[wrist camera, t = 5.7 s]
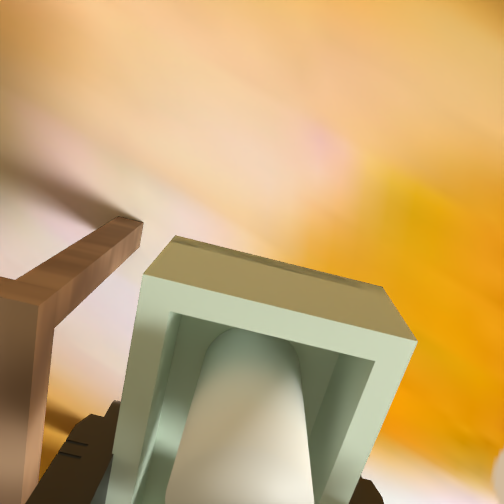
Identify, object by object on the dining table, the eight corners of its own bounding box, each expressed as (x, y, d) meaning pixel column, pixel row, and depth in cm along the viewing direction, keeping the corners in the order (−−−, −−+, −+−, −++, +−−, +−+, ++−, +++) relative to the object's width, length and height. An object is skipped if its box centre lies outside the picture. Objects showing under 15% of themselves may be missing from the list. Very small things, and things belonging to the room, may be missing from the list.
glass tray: (175, 235, 11) (103, 320, 7) (382, 286, 12) (460, 407, 7) (117, 538, 15) (43, 735, 10) (273, 573, 15) (274, 784, 10)
